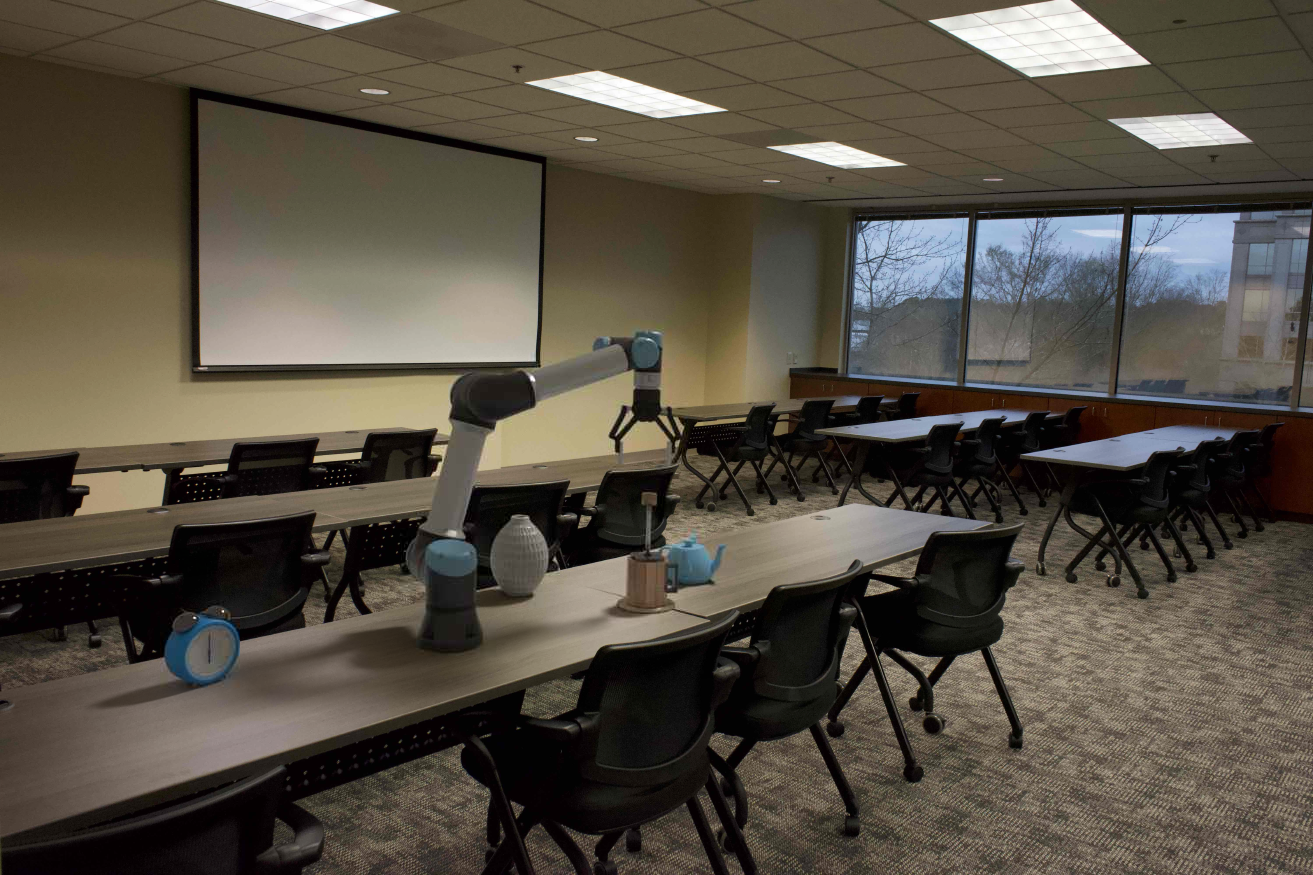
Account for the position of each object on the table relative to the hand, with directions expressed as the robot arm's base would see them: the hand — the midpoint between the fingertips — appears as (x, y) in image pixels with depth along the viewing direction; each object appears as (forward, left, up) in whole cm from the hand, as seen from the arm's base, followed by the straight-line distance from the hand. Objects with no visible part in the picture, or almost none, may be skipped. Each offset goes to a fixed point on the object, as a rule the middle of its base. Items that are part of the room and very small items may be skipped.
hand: (644, 465), depth 255 cm
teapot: (+20, +23, -39) cm, 49 cm away
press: (+1, -4, -38) cm, 39 cm away
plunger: (+1, -4, -27) cm, 27 cm away
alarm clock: (-100, -51, -39) cm, 119 cm away
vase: (-33, +11, -39) cm, 52 cm away
